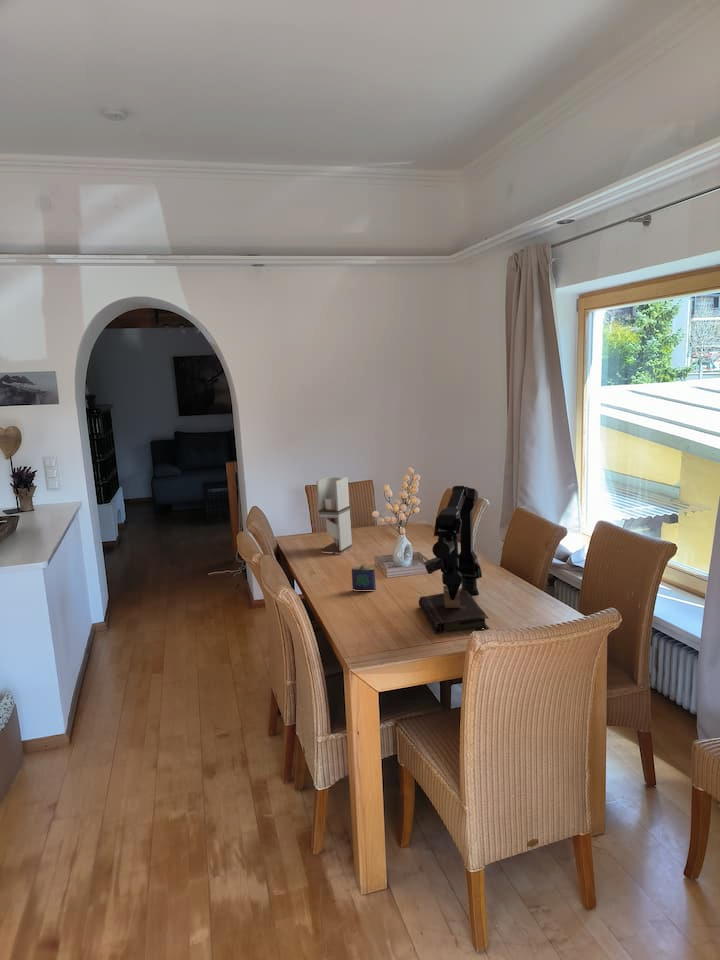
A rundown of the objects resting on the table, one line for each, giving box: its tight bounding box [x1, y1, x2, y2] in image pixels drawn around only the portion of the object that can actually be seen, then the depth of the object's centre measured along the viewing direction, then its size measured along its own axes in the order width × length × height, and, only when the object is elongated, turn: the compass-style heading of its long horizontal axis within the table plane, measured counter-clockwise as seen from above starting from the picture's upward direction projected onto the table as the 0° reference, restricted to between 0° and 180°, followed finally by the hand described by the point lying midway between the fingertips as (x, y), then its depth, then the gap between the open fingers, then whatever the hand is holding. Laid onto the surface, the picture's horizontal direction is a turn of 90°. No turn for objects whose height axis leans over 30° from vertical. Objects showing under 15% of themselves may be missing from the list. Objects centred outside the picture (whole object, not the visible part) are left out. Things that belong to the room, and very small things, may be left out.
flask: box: [351, 563, 377, 590], centre depth 246 cm, size 9×3×11 cm, turn 78°
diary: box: [418, 591, 490, 636], centre depth 215 cm, size 19×25×5 cm
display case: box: [316, 476, 353, 553], centre depth 303 cm, size 11×11×35 cm
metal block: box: [443, 585, 460, 608], centre depth 214 cm, size 5×5×6 cm
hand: (451, 595), depth 214 cm, fingers open, 9 cm apart
